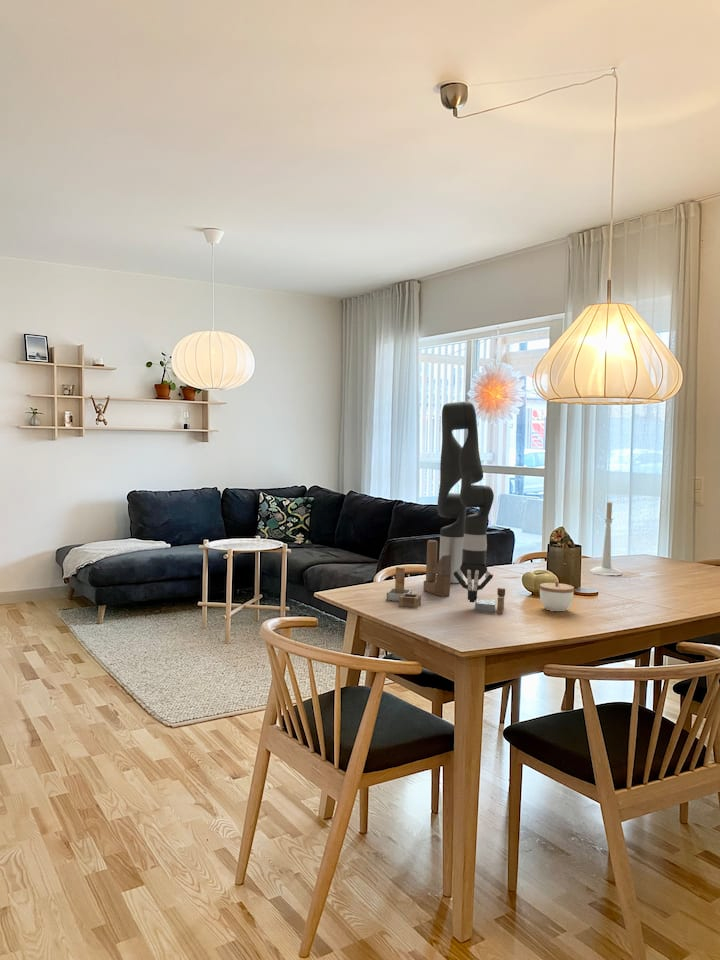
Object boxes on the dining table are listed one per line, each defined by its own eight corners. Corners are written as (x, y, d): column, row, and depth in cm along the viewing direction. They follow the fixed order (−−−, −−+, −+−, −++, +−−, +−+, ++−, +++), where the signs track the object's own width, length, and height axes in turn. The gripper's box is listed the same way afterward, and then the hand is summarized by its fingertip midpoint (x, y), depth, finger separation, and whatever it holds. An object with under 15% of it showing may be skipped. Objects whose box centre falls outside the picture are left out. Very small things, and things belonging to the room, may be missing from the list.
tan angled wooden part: (441, 597, 254) (443, 544, 253) (422, 590, 263) (424, 540, 262) (450, 596, 256) (452, 543, 254) (431, 590, 265) (433, 539, 264)
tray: (391, 595, 253) (391, 588, 253) (411, 597, 252) (411, 589, 252) (386, 600, 246) (386, 592, 245) (407, 602, 244) (407, 594, 244)
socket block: (402, 602, 244) (402, 593, 244) (420, 603, 242) (421, 594, 242) (399, 606, 238) (399, 596, 238) (417, 607, 237) (418, 598, 236)
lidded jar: (568, 606, 245) (569, 578, 245) (576, 614, 234) (578, 584, 234) (535, 605, 245) (536, 577, 245) (542, 613, 235) (544, 583, 234)
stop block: (497, 607, 241) (498, 585, 240) (505, 607, 240) (506, 586, 240) (495, 613, 232) (496, 591, 232) (503, 614, 232) (504, 591, 231)
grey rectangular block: (476, 607, 241) (476, 598, 241) (495, 609, 239) (495, 600, 239) (474, 612, 234) (475, 603, 234) (494, 614, 233) (494, 604, 232)
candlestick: (626, 576, 303) (630, 503, 301) (594, 575, 303) (598, 502, 302) (616, 571, 316) (620, 500, 314) (586, 569, 316) (589, 499, 314)
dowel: (395, 596, 251) (396, 566, 250) (404, 596, 250) (405, 567, 249) (394, 597, 248) (395, 567, 247) (402, 598, 247) (403, 568, 246)
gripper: (452, 548, 235) (450, 602, 236) (494, 551, 232) (492, 606, 233) (455, 544, 242) (453, 597, 243) (496, 547, 239) (494, 601, 240)
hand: (472, 601), depth 238 cm, fingers closed
